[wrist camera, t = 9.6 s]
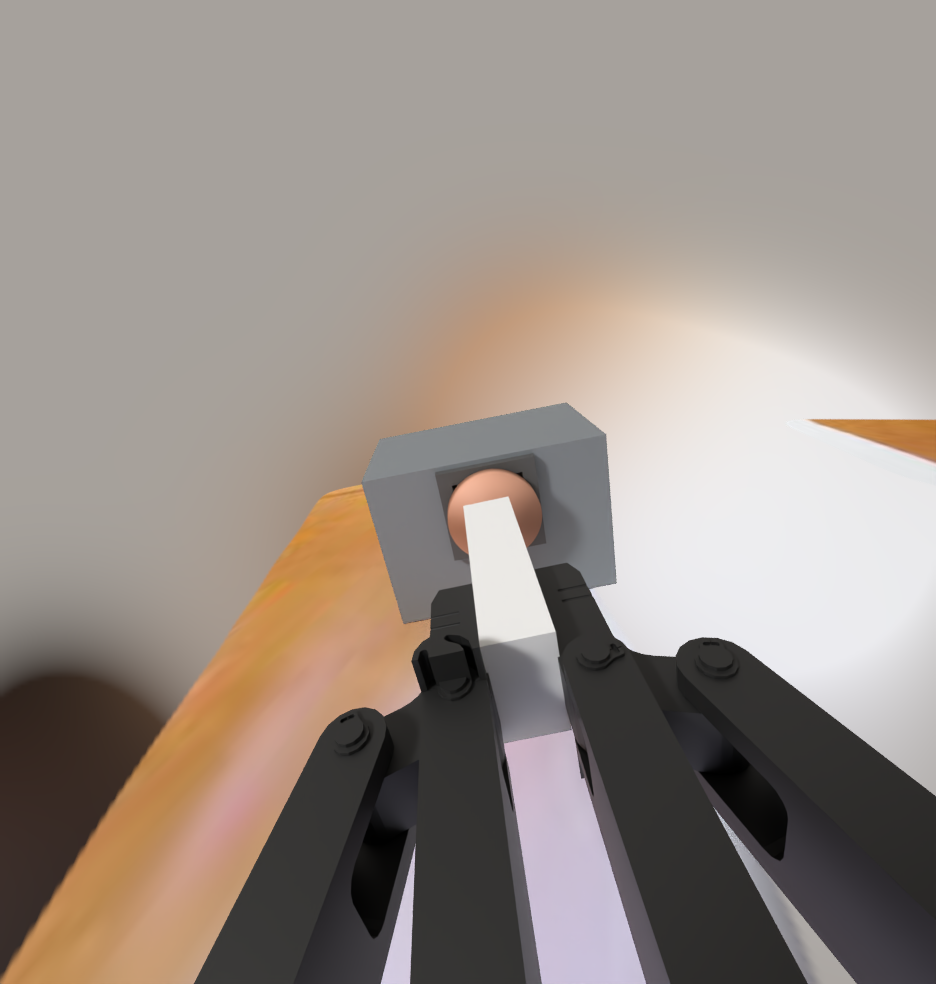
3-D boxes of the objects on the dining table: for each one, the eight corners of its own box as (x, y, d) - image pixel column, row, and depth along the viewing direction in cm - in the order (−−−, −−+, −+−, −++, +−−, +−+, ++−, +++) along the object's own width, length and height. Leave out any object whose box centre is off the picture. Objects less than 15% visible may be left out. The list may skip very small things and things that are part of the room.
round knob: (452, 491, 43) (439, 429, 40) (516, 479, 42) (506, 416, 40) (457, 568, 30) (438, 485, 28) (547, 551, 30) (535, 466, 28)
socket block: (411, 555, 43) (379, 439, 39) (578, 522, 43) (566, 402, 39) (402, 628, 34) (359, 485, 29) (619, 588, 33) (609, 437, 29)
